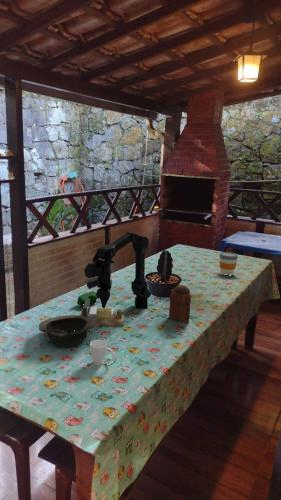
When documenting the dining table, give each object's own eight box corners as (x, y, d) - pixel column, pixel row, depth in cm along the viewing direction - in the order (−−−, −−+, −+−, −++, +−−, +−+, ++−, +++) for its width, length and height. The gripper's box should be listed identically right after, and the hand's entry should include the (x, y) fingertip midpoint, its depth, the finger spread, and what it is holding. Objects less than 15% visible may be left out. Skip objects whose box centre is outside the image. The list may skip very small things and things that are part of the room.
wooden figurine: (192, 319, 186) (195, 286, 182) (187, 324, 181) (190, 289, 176) (171, 314, 192) (173, 281, 187) (166, 318, 186) (168, 284, 182)
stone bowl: (70, 358, 145) (68, 336, 143) (27, 344, 159) (24, 324, 157) (107, 334, 166) (106, 314, 164) (66, 323, 179) (65, 305, 177)
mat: (113, 308, 195) (113, 307, 195) (112, 315, 187) (112, 314, 186) (91, 308, 195) (91, 307, 195) (89, 315, 186) (89, 313, 186)
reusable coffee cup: (238, 273, 265) (240, 253, 261) (232, 278, 255) (234, 257, 251) (221, 270, 272) (223, 251, 268) (215, 274, 261) (217, 254, 258)
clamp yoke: (89, 316, 184) (89, 299, 182) (86, 325, 174) (86, 308, 171) (85, 316, 184) (85, 299, 182) (83, 325, 174) (83, 308, 171)
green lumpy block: (85, 314, 197) (84, 303, 191) (78, 309, 200) (76, 298, 194) (101, 301, 204) (99, 290, 198) (93, 296, 207) (92, 285, 201)
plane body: (124, 319, 183) (124, 308, 181) (124, 325, 176) (124, 314, 175) (80, 318, 182) (80, 306, 181) (78, 324, 175) (78, 312, 174)
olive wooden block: (111, 315, 181) (111, 308, 180) (110, 319, 177) (110, 311, 176) (97, 315, 180) (97, 307, 179) (96, 318, 177) (96, 311, 176)
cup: (94, 356, 148) (94, 337, 146) (117, 361, 145) (117, 343, 143) (86, 364, 142) (86, 345, 140) (109, 370, 138) (109, 351, 136)
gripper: (89, 267, 182) (89, 296, 186) (85, 279, 164) (85, 311, 168) (112, 267, 182) (111, 297, 186) (110, 280, 164) (109, 312, 168)
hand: (104, 304), depth 177 cm, fingers open, 9 cm apart
